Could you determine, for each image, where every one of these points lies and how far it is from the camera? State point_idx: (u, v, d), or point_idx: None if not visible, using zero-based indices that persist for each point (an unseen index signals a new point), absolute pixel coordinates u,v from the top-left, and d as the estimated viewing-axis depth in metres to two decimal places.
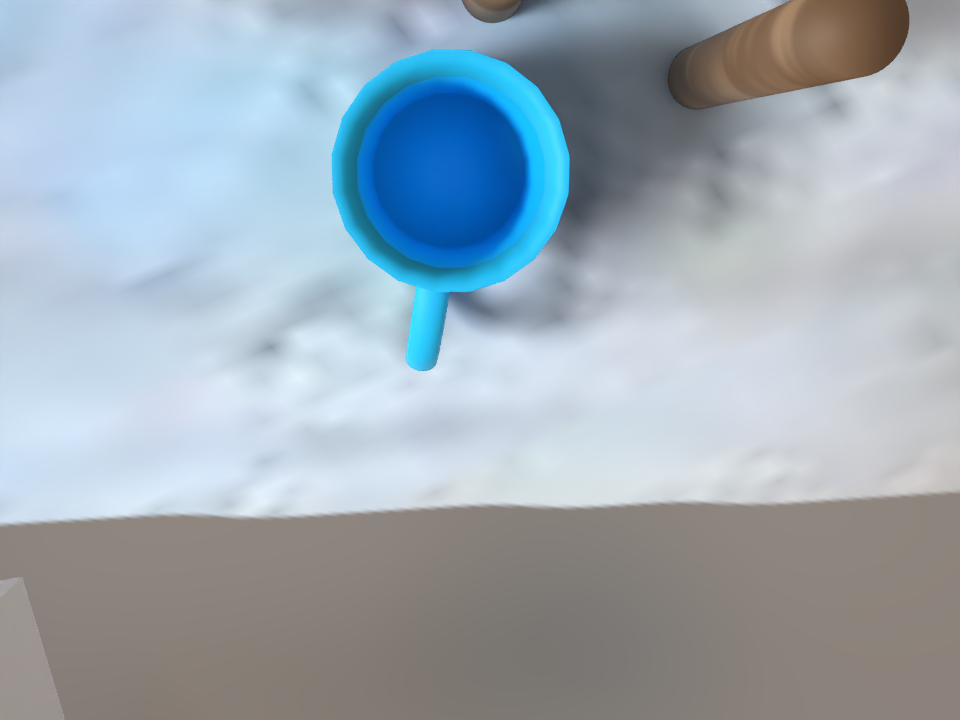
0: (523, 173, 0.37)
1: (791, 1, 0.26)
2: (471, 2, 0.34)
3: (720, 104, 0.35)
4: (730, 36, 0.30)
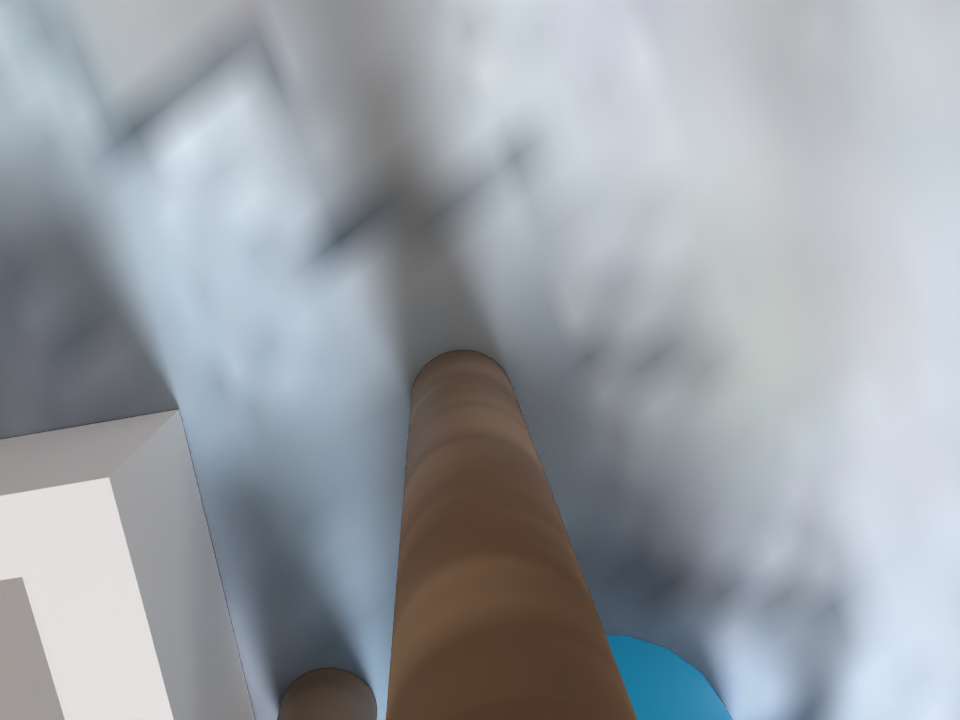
0: None
1: None
2: None
3: None
4: None
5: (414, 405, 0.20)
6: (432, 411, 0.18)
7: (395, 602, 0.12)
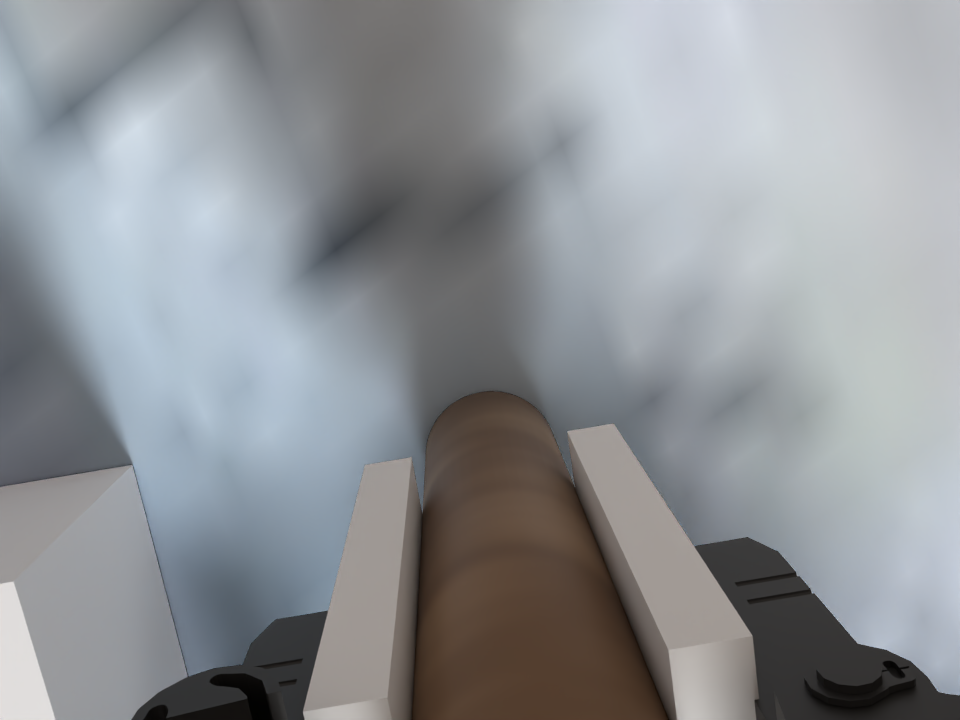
0: None
1: None
2: None
3: None
4: None
5: (430, 471, 0.15)
6: (456, 492, 0.13)
7: None
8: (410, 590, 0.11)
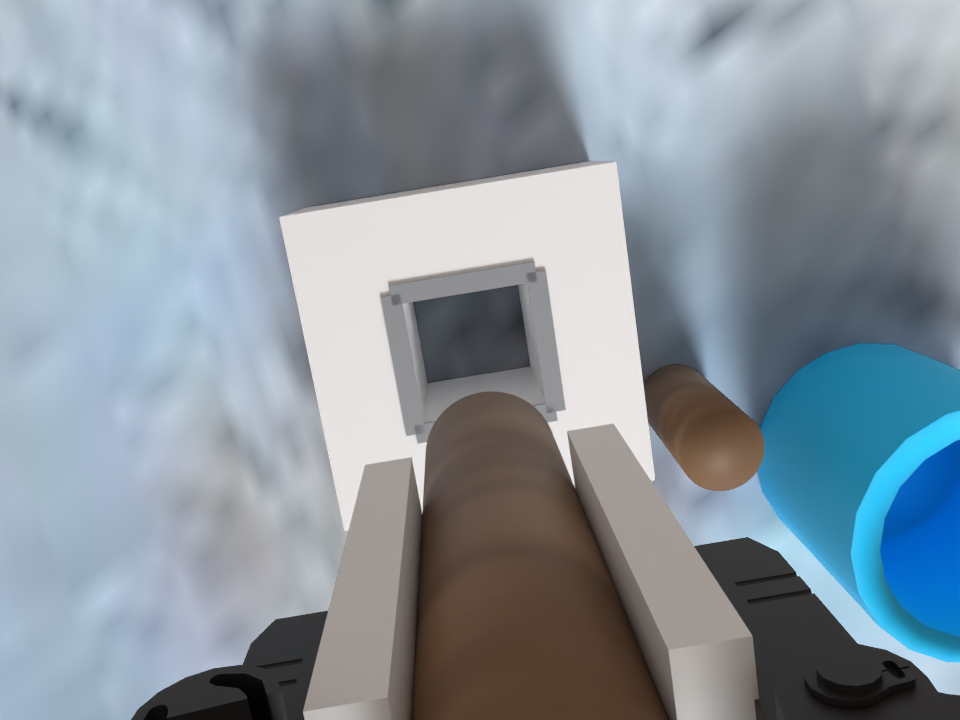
0: None
1: None
2: None
3: None
4: None
5: (430, 471, 0.15)
6: (456, 492, 0.13)
7: None
8: (410, 590, 0.11)
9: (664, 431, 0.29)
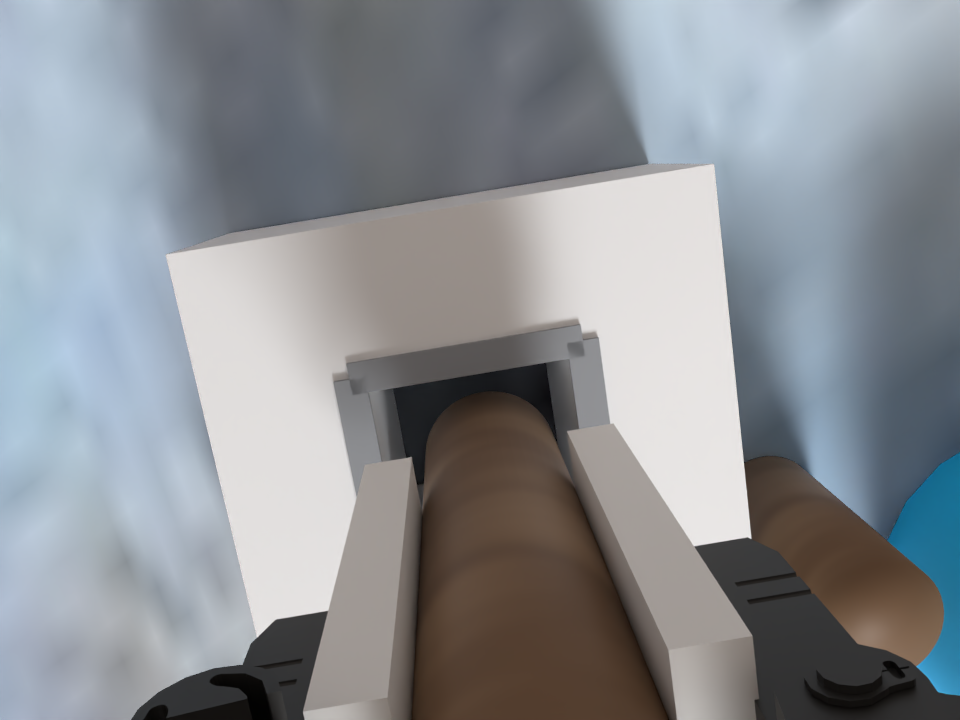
0: None
1: None
2: None
3: None
4: None
5: (430, 471, 0.15)
6: (455, 492, 0.13)
7: None
8: (410, 590, 0.11)
9: None
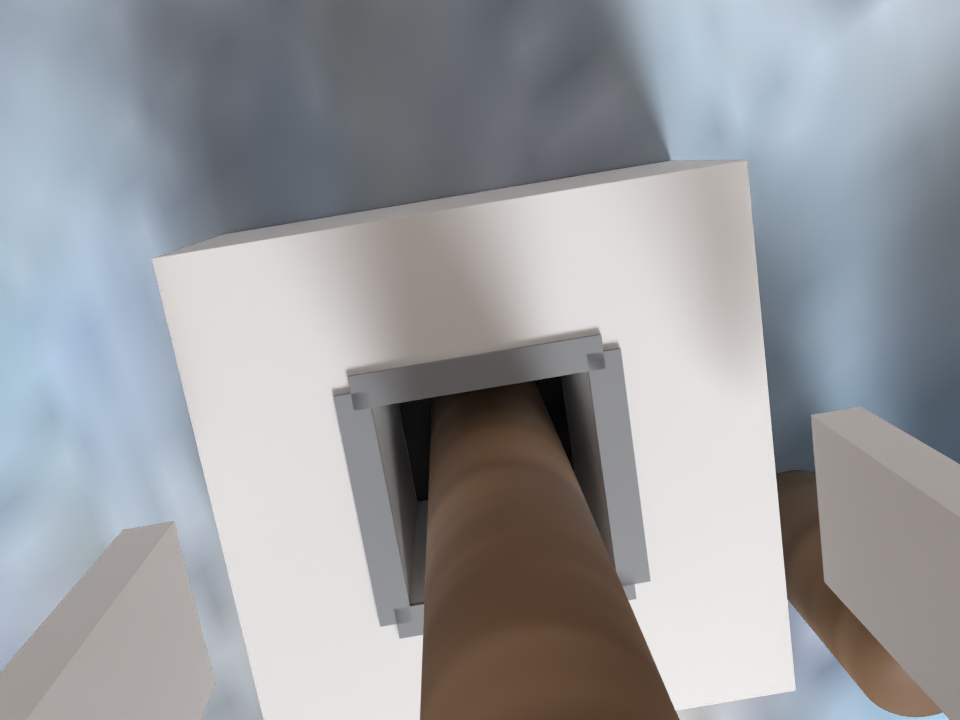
0: None
1: None
2: None
3: None
4: None
5: (436, 420, 0.18)
6: (458, 430, 0.16)
7: (422, 671, 0.10)
8: (93, 690, 0.10)
9: (807, 599, 0.18)
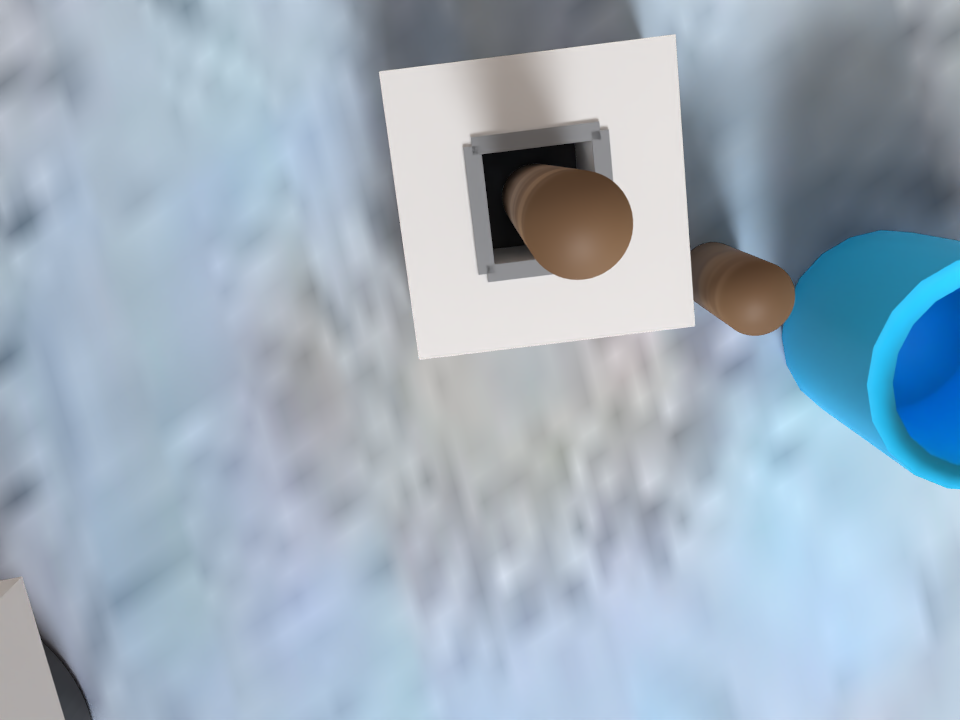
0: None
1: None
2: None
3: None
4: None
5: (508, 182, 0.33)
6: (523, 171, 0.31)
7: (516, 205, 0.25)
8: None
9: (705, 287, 0.33)
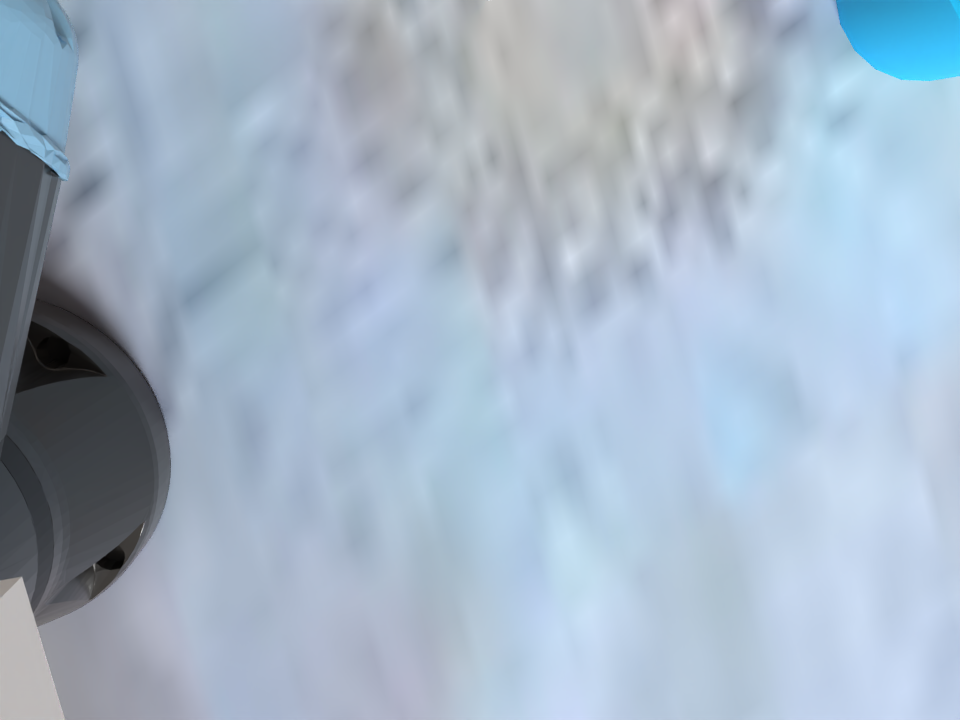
0: None
1: None
2: None
3: None
4: None
5: None
6: None
7: None
8: None
9: None
